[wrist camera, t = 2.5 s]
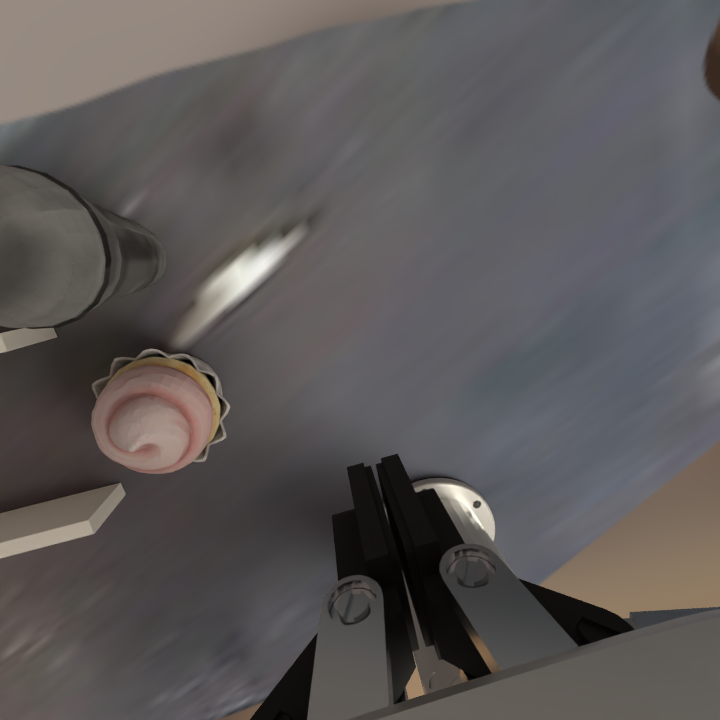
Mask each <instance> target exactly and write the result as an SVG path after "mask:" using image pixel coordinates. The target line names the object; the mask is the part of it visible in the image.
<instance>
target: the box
mask: <svg viewBox="0 0 720 720" xmlns="http://www.w3.org/2000/svg"><path fill="white" fill-rule="evenodd" d="M53 338H57V335H56V333H55V330H54V328H43V329H28V328H22V329H17V330H13V331H8V332H3V333H0V353H3V352H7V351H11V350H15V349H18V348H22V347H25V346H29V345H32V344H36V343H39V342H43V341H46V340H50V339H53ZM125 495H126V494H125V491H124V489H123V487H122V485H121V483H117V484H113V485H109V486H105V487H102V488H98V489H94V490H90V491H86V492H82V493H78V494H74V495H70V496H66V497H62V498H58V499H54V500H50V501H46V502H42V503H38V504H35V505H31V506H27V507H23V508H19V509H15V510H11V511H7V512H3V513H0V558H4V557H8V556H12V555H15V554H19V553H23V552H27V551H31V550H34V549H38V548H42V547H46V546H50V545H53V544H57V543H61V542H65V541H69V540H73V539H76V538H80V537H84V536H88V535H92V534H95V532H96V531H97V530H98V529H99V527H100V526H101V525H102V524H103V522H104V521H105V520H106V519H107V517H108V516H109V515H110V514H111V512H112V511H113V510H114V509H115V507H116V506H117V505H118V504H119V502H120V501H121V500H122V499H123V497H124V496H125Z"/></svg>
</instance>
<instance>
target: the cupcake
mask: <svg viewBox="0 0 720 720" xmlns="http://www.w3.org/2000/svg"><path fill="white" fill-rule="evenodd" d="M92 390H93V392H94V394H95V396H96V398H97V401H96V404H95V407H94V409H93V410H92V422H91V426H92V429H93V433H94V436H95V439H96V442H97V444H98V446H99V448H100V450H101V451H102V452H103V453H104V454H105V455H106V456H108V457H109V458H110V459H111V460H113V461H115V462H118V463H120V464H122V465H124V466H126V467H127V468H129V469H132V470H135V471H138V472H142V473H149V474H163V473H169V472H174V471H176V470H179V469H181V468H183V467H185V466H186V465H188V464H189V463H191V462H204V461H205V460H206V459H207V456H208V452H209V447H210V445H213V444H215V443H217V442H220V441H222V440H224V439H225V438H226V431H225V429H224V426H223V423H222V420H223V419H224V417H225V416H226V415H227V413H228V412H229V409H230V405H229V404H228V402H227V400H226V399H225V398H224V397H223V395H222V386H221V383H220V379H219V378H218V376H217V374H216V373H215V372H214V370H213V369H212V368H211V367H210V366H209V365H208V364H207V363H205V362H204V361H202V360H200V359H198V358H196V357H193V356H190V355H187V354H167V353H165V352H163V351H160V350H157V349H147V350H144V351H142V352H141V353H140V354H139V355H138V356H137V357H136V358H130V357H119V358H115V359H114V361H113V362H112V364H111V370H110V375H109V376H107V377H104V378H102V379H99V380H97V381H95V382H94V383H93V384H92Z"/></svg>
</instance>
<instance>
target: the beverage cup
mask: <svg viewBox="0 0 720 720" xmlns="http://www.w3.org/2000/svg"><path fill="white" fill-rule="evenodd" d="M166 265H167V256H166V251H165V249H164V247H163V245H162V243H161V241H160V240H159V239H158V238H157V237H156V236H155V235H154V234H153V233H151V232H150V231H148V230H146V229H145V228H143V227H141V226H140V225H138V224H136V223H134V222H132V221H130V220H127V219H125V218H123V217H121V216H119V215H116V214H114V213H112V212H110V211H108V210H105V209H103V208H101V207H99V206H97V205H94V204H92V203H90V202H88V201H87V200H86V199H84V198H83V197H81V196H80V195H78V194H77V193H76V192H75V191H74V190H73V189H72V188H70V187H69V186H67V185H65V184H64V183H62V182H60V181H59V180H57V179H55V178H54V177H52V176H50V175H49V174H47V173H43V172H40V171H36V170H32V169H29V168H25V167H22V166H4V165H0V326H4V327H9V328H28V329H43V328H58V327H61V326H64V325H66V324H69V323H72V322H74V321H77V320H79V319H81V318H83V317H84V316H85V315H86V314H87V313H89V312H90V311H92V310H93V309H95V308H97V307H98V306H99V305H100V304H103V303H105V302H108V301H111V300H114V299H116V298H119V297H122V296H125V295H128V294H130V293H133V292H136V291H139V290H141V289H144V288H146V287H148V286H150V285H152V284H155V283H156V282H157V281H158V280H159V279H160V278H161V277H162V276H163V274H164V272H165V270H166Z"/></svg>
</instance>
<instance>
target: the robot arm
mask: <svg viewBox="0 0 720 720" xmlns="http://www.w3.org/2000/svg"><path fill="white" fill-rule="evenodd" d="M381 461H382V463H379V464H376V468H377V472H378V477H379V481H380V486H381V490H382V494H383V499H384V504H383V503H382V500H381V497H380V493H379V490H378V487H377V484H376V481H375V477H374V474H373V471H372V468H371V466H367V467H364V464H363V463H361V464H357V465H353V466H349V467H347V470H348V475H349V481H350V486H351V491H352V496H353V501H354V506H355V509H353V510H350V511H346V512H342V513H339V514H335V515H332V521H333V532H334V542H335V552H336V562H337V573H338V582H336V583H335V584H334V585H333V586H332V587H331V588H330V589H329V590H328V591H327V593H326V594H325V596H324V598H323V601H322V605H321V611H320V619H319V627H318V633H317V634H316V635H315V637H314V638H313V639H312V640H311V642H310V643H309V644H308V646H307V647H306V648H305V649H304V651H303V652H302V653H301V655H300V656H299V657H298V658H297V660H296V661H295V662H294V664H293V665H292V666H291V667H290V669H289V670H288V671H287V673H286V674H285V675H284V676H283V678H282V679H281V680H280V682H279V683H278V684H277V685H276V687H275V688H274V689H273V691H272V692H271V693H270V694H269V696H268V697H267V698H266V700H265V701H264V702H263V703H262V705H261V706H260V707H259V709H258V710H257V711H256V712H255V714H254V715H253V716H252V718H251V719H250V720H720V607H709V608H692V609H675V610H658V611H641V612H630V618H624V619H622V618H621V617H619V616H618V615H616V614H614V613H612V612H610V611H608V610H606V609H603V608H600V607H597V606H595V605H592V604H589V603H586V602H583V601H581V600H577V599H575V598H572V597H569V596H566V595H564V594H561V593H558V592H555V591H552V590H549V589H546V588H544V587H541V586H538V585H535V584H532V583H530V582H527V581H524V580H521V579H518V578H517V577H516V575H515V574H514V572H513V571H512V569H511V568H510V566H509V565H508V563H507V562H506V560H505V559H504V557H503V556H502V554H501V553H500V551H499V550H498V548H497V547H496V545H495V544H494V537H495V522H494V518H493V514H492V512H491V510H490V508H489V506H488V504H487V503H486V501H485V500H484V499H483V498H482V496H481V495H480V494H479V493H478V492H477V491H476V490H475V489H473V488H472V487H470V486H468V485H467V484H465V483H463V482H460V481H457V480H454V479H447V478H429V479H425V480H420V481H417V482H414V483H411V481H410V479H409V477H408V475H407V473H406V471H405V468H404V466H403V464H402V462H401V460H400V458H399V456H398V454H395V455H391V456H387V457H384V458H381ZM412 651H413V652H412ZM413 653H414V657H415V661H416V664H417V668H418V672H419V675H420V679H421V683H422V687H423V690H424V694H425V695H422V696H419V697H416V698H413V699H410V700H408V695H407V691H406V685H407V683H408V681H409V679H410V677H411V675H412V674H413V672H414V670H415V668H416V665H415V661H414V657H413Z"/></svg>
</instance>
